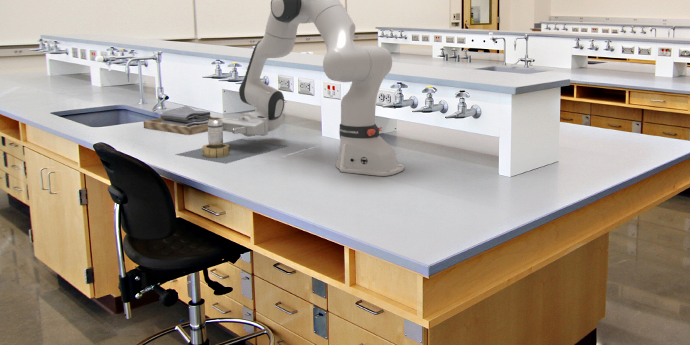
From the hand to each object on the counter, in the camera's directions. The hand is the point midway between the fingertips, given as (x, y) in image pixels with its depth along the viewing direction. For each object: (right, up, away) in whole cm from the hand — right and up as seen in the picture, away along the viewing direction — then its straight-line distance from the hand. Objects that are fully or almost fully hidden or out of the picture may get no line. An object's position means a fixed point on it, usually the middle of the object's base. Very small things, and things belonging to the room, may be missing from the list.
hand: (223, 129), depth 218 cm
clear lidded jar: (-2, -9, -1) cm, 9 cm away
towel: (-28, +5, +57) cm, 64 cm away
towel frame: (-26, +5, +54) cm, 60 cm away
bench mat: (+3, -8, +6) cm, 10 cm away
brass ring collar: (-2, -9, -1) cm, 9 cm away
